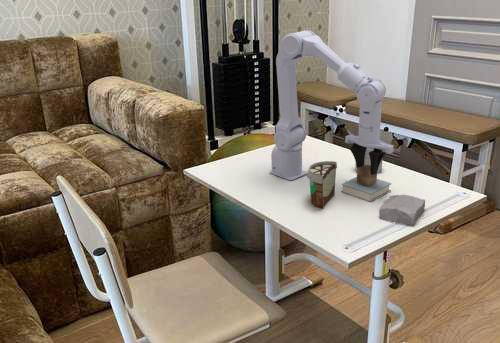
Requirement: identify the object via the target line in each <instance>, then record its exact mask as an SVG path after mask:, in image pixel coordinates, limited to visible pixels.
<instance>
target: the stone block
mask: <svg viewBox="0 0 500 343" xmlns="http://www.w3.org/2000/svg"><path fill="white" fill-rule="evenodd" d="M425 207H426V199H424V198H419V197H416V196H414V195H410V194H395V195H390V196H389V197H388V198H387V199H385V200H384V201H383V203H382V204H381V205H380V207H379V210H378V213H379V218H380V219H381V220H383V221H386V222H388V221H389V223H394V222H395V224H401V225H404V224H405V225H404V226H410V227H411V226H414V225H415V224H416V223H417V221H418V219H419V217H421V214H422V213H423V211H424V210H425Z"/></svg>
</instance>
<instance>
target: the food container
mask: <svg viewBox="0 0 500 343" xmlns="http://www.w3.org/2000/svg"><path fill="white" fill-rule="evenodd" d="M337 163H338V162H337V161H334V160H333V161H332V160H325V161H319V162H315V163H313V164H310V166H309V167H308V169H307V171H306V172H307V174H306V177H307V179H308V180H309V189H310V190H309V191H310V203H311V205H312V206H313V207H315V208H318V209H322V210H324V209H325V208H326V206H327V205H328V204H329V203H330V202H331V201H332V199H333V198H334V197H335V193H336V179H337V178H336V176H337V168H338V164H337Z"/></svg>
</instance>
